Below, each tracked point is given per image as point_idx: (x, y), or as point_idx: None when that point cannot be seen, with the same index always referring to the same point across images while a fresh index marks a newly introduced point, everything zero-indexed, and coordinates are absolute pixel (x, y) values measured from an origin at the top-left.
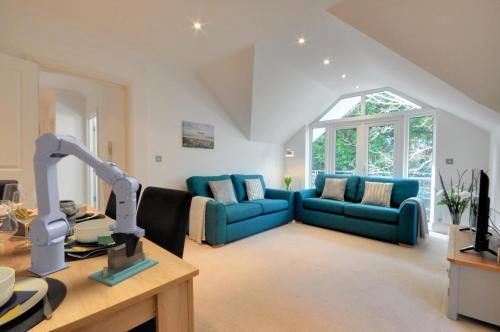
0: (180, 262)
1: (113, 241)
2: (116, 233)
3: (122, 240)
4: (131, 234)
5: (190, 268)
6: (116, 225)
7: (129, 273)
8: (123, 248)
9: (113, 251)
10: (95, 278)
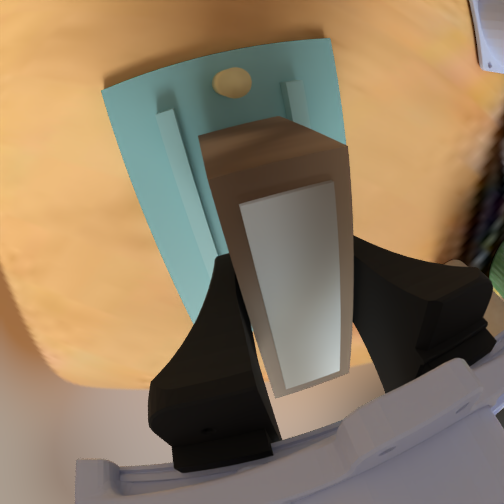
0: (149, 384)
1: (501, 267)
2: (461, 333)
3: (374, 320)
4: (207, 461)
5: (80, 381)
6: (495, 458)
7: (165, 203)
8: (236, 276)
9: (238, 170)
10: (268, 44)
